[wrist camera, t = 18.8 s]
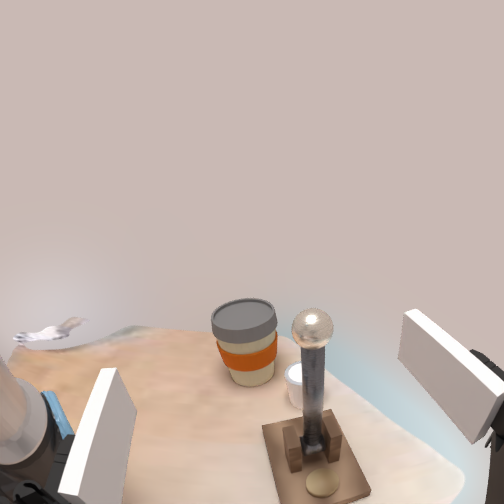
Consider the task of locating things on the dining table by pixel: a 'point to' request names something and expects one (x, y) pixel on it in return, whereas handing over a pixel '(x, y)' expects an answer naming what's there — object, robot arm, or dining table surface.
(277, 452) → the lever stand
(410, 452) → the dining table surface
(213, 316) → the reusable coffee cup
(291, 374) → the white cylinder
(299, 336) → the lever
